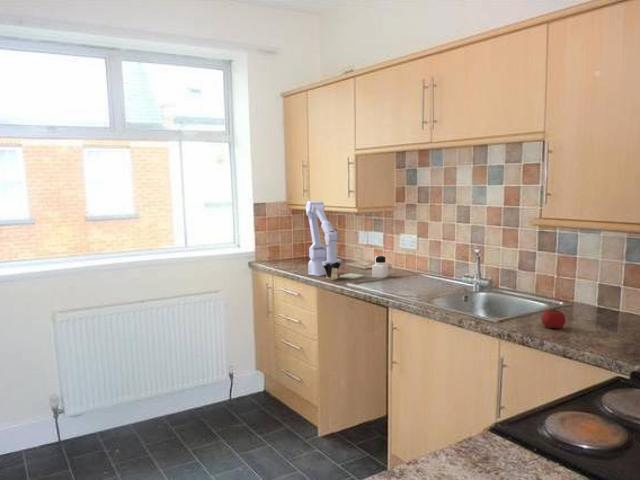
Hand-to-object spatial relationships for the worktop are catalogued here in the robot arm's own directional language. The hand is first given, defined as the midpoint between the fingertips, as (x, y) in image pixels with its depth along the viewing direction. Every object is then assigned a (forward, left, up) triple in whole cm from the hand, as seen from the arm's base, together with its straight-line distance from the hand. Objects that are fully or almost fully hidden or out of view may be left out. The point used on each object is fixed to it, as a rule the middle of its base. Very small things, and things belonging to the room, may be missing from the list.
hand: (332, 276), depth 286 cm
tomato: (+127, -22, -2) cm, 129 cm away
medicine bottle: (+18, +22, -2) cm, 28 cm away
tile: (+5, +12, -1) cm, 13 cm away
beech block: (0, 0, -1) cm, 1 cm away
